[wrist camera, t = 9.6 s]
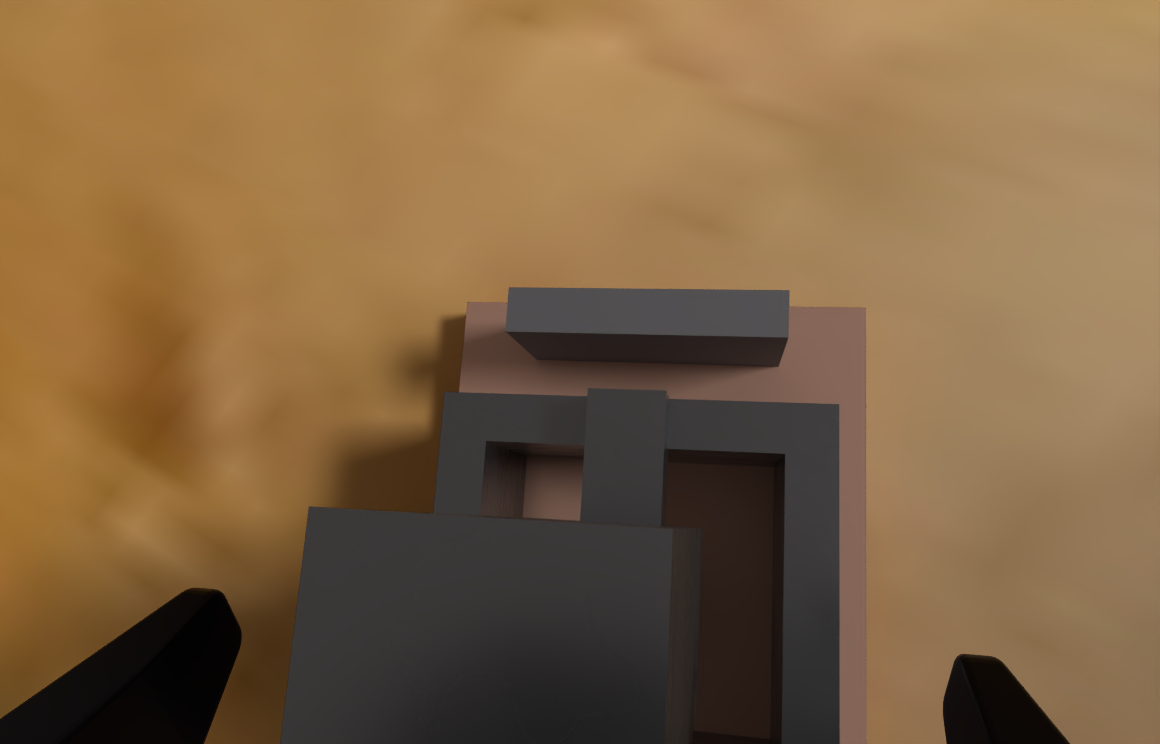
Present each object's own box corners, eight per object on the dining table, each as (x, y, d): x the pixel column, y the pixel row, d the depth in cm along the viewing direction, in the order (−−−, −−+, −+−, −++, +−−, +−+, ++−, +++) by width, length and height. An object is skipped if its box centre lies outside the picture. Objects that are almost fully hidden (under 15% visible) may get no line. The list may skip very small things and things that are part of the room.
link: (816, 793, 17) (1077, 1542, 4) (464, 751, 18) (-84, 1221, 6) (818, 426, 18) (1018, 213, 6) (491, 414, 20) (98, 223, 7)
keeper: (858, 936, 17) (897, 1054, 13) (428, 868, 19) (352, 954, 15) (858, 318, 20) (891, 267, 16) (478, 312, 22) (425, 265, 18)
